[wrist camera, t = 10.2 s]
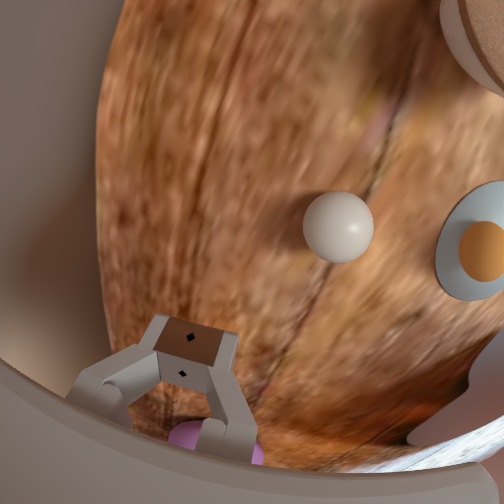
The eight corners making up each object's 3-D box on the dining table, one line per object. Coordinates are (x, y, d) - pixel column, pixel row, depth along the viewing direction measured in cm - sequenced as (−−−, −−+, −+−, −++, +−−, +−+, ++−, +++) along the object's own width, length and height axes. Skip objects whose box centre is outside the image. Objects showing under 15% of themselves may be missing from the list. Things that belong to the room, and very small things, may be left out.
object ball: (529, 245, 17) (497, 215, 21) (494, 236, 17) (461, 205, 21) (503, 295, 20) (477, 262, 24) (466, 293, 20) (441, 257, 24)
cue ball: (393, 234, 18) (379, 192, 22) (319, 207, 18) (318, 168, 22) (355, 285, 22) (350, 240, 26) (290, 265, 22) (294, 221, 26)
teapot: (150, 412, 52) (125, 472, 40) (239, 412, 45) (220, 491, 32) (207, 454, 62) (193, 504, 49) (285, 455, 55) (277, 514, 42)
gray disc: (468, 159, 19) (469, 159, 19) (550, 206, 19) (551, 207, 18) (413, 288, 27) (413, 289, 27) (498, 307, 26) (499, 308, 26)
